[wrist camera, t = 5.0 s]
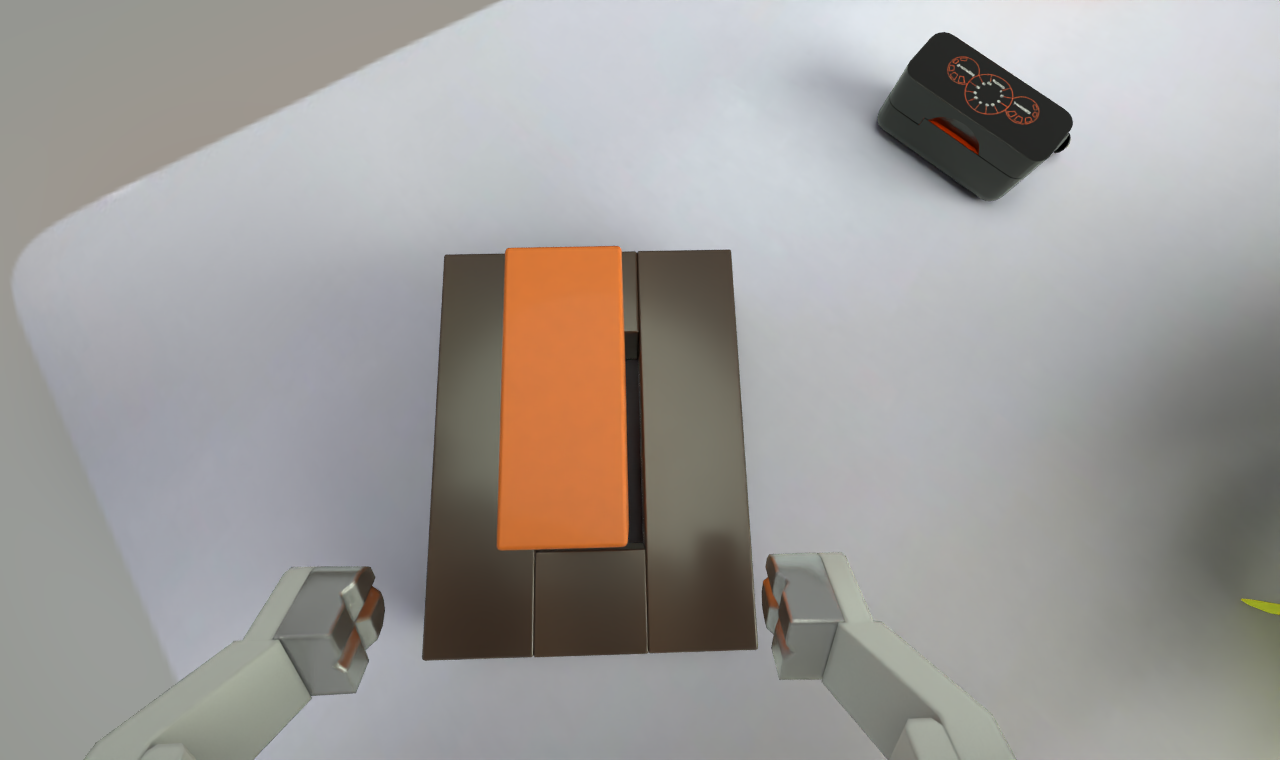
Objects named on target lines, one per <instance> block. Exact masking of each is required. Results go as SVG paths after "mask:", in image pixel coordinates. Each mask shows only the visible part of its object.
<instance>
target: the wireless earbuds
mask: <svg viewBox="0 0 1280 760" xmlns="http://www.w3.org/2000/svg"><path fill="white" fill-rule="evenodd" d="M878 124H879V126H880V127H881V128H882V129H883V130H884V131H886V132H887V133H889V134H890V135H891V136H893V137H894V138H896V139H897V140H899V141H900V142H901V143H903V144H904V145H906V146H907V147H908V148H910V149H911V150H913V151H914V152H915V153H917V154H918V155H920V156H921V157H923V158H924V159H925V160H927V161H928V162H930V163H931V164H932V165H934V166H935V167H937V168H938V169H940V170H941V171H942V172H944V173H945V174H947V175H948V176H949V177H951V178H952V179H954V180H955V181H957V182H958V183H959V184H961V185H962V186H964V187H965V188H966V189H968V190H969V191H971V192H972V193H973V194H975V195H976V196H978V197H979V198H981V199H983V200H985V201H994V200H997V199H999V198H1001V197H1003V196H1004V195H1005V194H1006V193H1007V192H1008V191H1010V190H1011V189H1012V188H1013V187H1014V186H1015V185H1017V184H1018V183H1019V182H1020V181H1021V180H1023V179H1024V178H1025V177H1026V176H1027V175H1028V174H1030V173H1031V172H1032V171H1033V170H1034V169H1036V168H1037V167H1038V166H1039V165H1040V164H1041V163H1043V162H1044V161H1045V160H1046V159H1047V158H1048V157H1050V155H1051V154H1052V153H1053V152H1054V153H1058V152H1061V151H1063V150H1064V149H1065V148H1067V147H1068V145H1069V144H1070V141H1071V137H1070V134H1069V133H1068V132H1069V131H1070V130H1071V128H1072V125H1073V121H1072V117H1071V115H1070V114H1069V113H1068V112H1067V111H1066V110H1065V109H1063V108H1062V107H1060V106H1059V105H1057V104H1056V103H1054V102H1053V101H1051V100H1050V99H1048V98H1047V97H1045V96H1044V95H1042V94H1041V93H1039V92H1038V91H1036V90H1035V89H1033V88H1032V87H1030V86H1029V85H1027V84H1026V83H1024V82H1023V81H1021V80H1020V79H1018V78H1017V77H1015V76H1014V75H1012V74H1011V73H1009V72H1008V71H1006V70H1005V69H1003V68H1002V67H1000V66H999V65H997V64H996V63H994V62H993V61H991V60H990V59H988V58H987V57H985V56H984V55H982V54H981V53H979V52H978V51H976V50H975V49H973V48H972V47H970V46H969V45H967V44H966V43H964V42H963V41H961V40H960V39H958V38H957V37H955V36H954V35H952V34H950V33H945V32H942V33H937V34H935V35H934V36H932V37H931V38H930V39H929V41H928V42H927V43H926V44H925V45H924V46H923V47H922V48H921V50H920V51H919V52H918V53H917V54H916V55H915V56H914V57H913V59H912V60H911V61H910V62H909V64H908V65H907V67H906V69H905V70H904V72H903V74H902V75H901V77H900V78H899V80H898V82H897V83H896V85H895V86H894V88H893V90H892V91H891V93H890V95H889V96H888V98H887V99H886V101H885V103H884V104H883V106H882V107H881V109H880V111H879V113H878Z"/></svg>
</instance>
